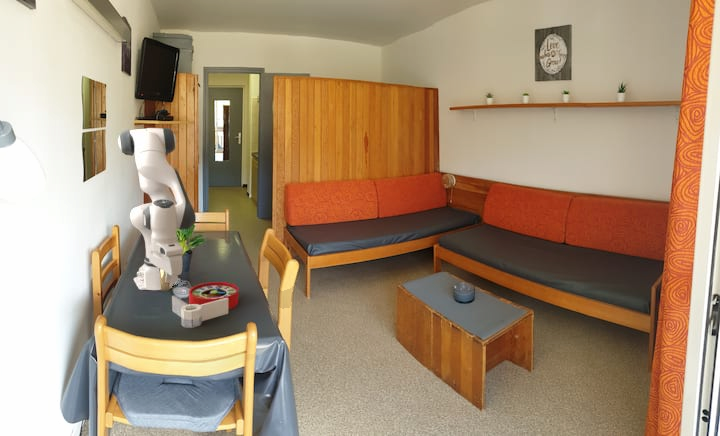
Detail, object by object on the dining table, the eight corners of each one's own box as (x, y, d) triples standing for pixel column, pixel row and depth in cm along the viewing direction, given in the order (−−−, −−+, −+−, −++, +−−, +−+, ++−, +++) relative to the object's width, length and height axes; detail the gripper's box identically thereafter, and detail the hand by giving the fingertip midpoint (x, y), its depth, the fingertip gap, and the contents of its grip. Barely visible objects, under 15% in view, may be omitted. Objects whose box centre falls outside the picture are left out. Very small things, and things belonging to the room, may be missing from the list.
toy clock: (181, 298, 182) (198, 281, 202) (182, 311, 183) (198, 293, 203) (231, 300, 183) (243, 283, 202) (231, 314, 184) (243, 295, 204)
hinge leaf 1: (165, 313, 181) (164, 297, 179) (182, 308, 186) (181, 293, 184) (187, 329, 168) (186, 313, 167) (204, 324, 173) (204, 308, 172)
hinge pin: (159, 288, 169) (159, 268, 167) (167, 287, 171) (167, 266, 170) (162, 291, 167) (162, 270, 165) (170, 289, 169) (170, 269, 168)
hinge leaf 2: (178, 323, 173) (178, 307, 171) (223, 310, 186) (223, 295, 185) (187, 329, 168) (186, 313, 167) (232, 315, 182) (232, 300, 180)
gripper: (143, 239, 170) (144, 273, 173) (168, 252, 157) (168, 290, 160) (160, 236, 175) (161, 270, 178) (185, 250, 161) (185, 286, 164)
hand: (165, 280), depth 168 cm, fingers closed on hinge pin, 3 cm apart
